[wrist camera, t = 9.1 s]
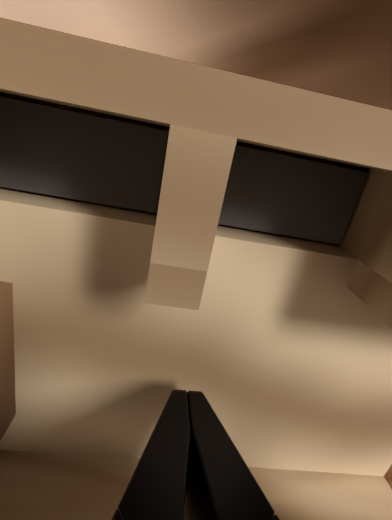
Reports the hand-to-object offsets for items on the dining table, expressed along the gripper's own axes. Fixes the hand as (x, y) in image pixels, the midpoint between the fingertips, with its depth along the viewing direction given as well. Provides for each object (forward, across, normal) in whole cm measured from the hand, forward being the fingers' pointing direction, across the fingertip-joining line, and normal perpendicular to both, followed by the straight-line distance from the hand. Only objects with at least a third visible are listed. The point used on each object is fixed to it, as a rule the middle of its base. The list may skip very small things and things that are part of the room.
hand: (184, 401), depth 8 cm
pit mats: (+2, +1, -6) cm, 6 cm away
